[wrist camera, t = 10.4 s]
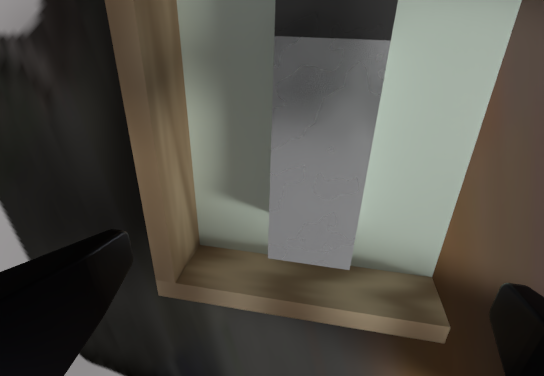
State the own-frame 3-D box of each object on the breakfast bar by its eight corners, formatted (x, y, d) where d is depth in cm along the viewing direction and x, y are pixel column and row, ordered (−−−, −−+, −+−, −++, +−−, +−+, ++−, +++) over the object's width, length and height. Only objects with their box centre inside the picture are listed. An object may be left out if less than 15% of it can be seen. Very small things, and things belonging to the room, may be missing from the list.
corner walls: (521, -9, 13) (589, -23, 9) (425, 288, 20) (444, 343, 17) (154, -12, 15) (100, -24, 12) (186, 253, 23) (158, 295, 19)
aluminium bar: (347, 225, 19) (349, 270, 15) (280, 216, 19) (267, 258, 16) (383, 6, 14) (398, -1, 10) (291, 4, 14) (275, -3, 11)
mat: (521, -9, 13) (524, -10, 13) (425, 288, 20) (427, 292, 20) (154, -12, 15) (151, -13, 15) (186, 253, 23) (184, 256, 22)
